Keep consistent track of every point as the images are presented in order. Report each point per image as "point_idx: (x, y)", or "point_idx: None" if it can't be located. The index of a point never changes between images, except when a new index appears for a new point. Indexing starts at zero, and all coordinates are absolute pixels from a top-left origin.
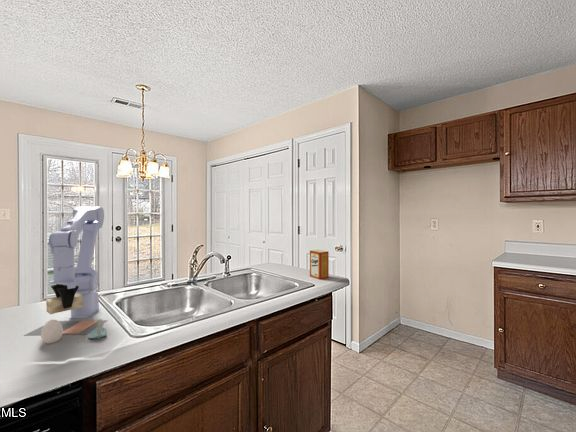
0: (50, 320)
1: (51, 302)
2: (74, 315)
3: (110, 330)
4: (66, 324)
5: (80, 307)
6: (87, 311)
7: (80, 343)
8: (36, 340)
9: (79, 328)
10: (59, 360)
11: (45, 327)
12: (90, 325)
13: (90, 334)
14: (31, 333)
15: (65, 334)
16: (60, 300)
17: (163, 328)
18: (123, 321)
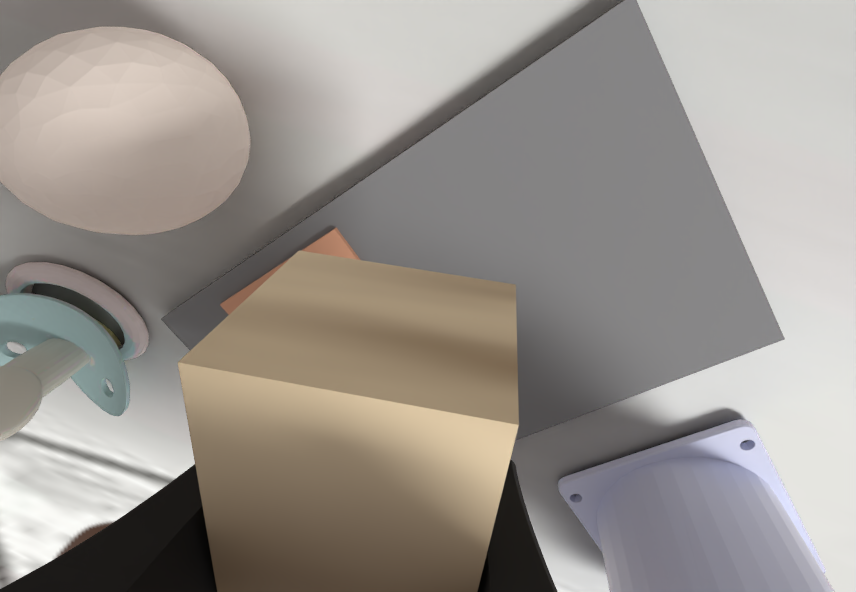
0: (8, 146)
1: (188, 378)
2: (668, 473)
3: (171, 428)
4: (537, 353)
5: (637, 562)
6: (603, 546)
7: (64, 237)
8: (404, 57)
9: None
10: None
11: (16, 63)
12: None
13: (92, 326)
14: (610, 77)
15: (286, 248)
16: (210, 500)
17: (9, 535)
18: None
